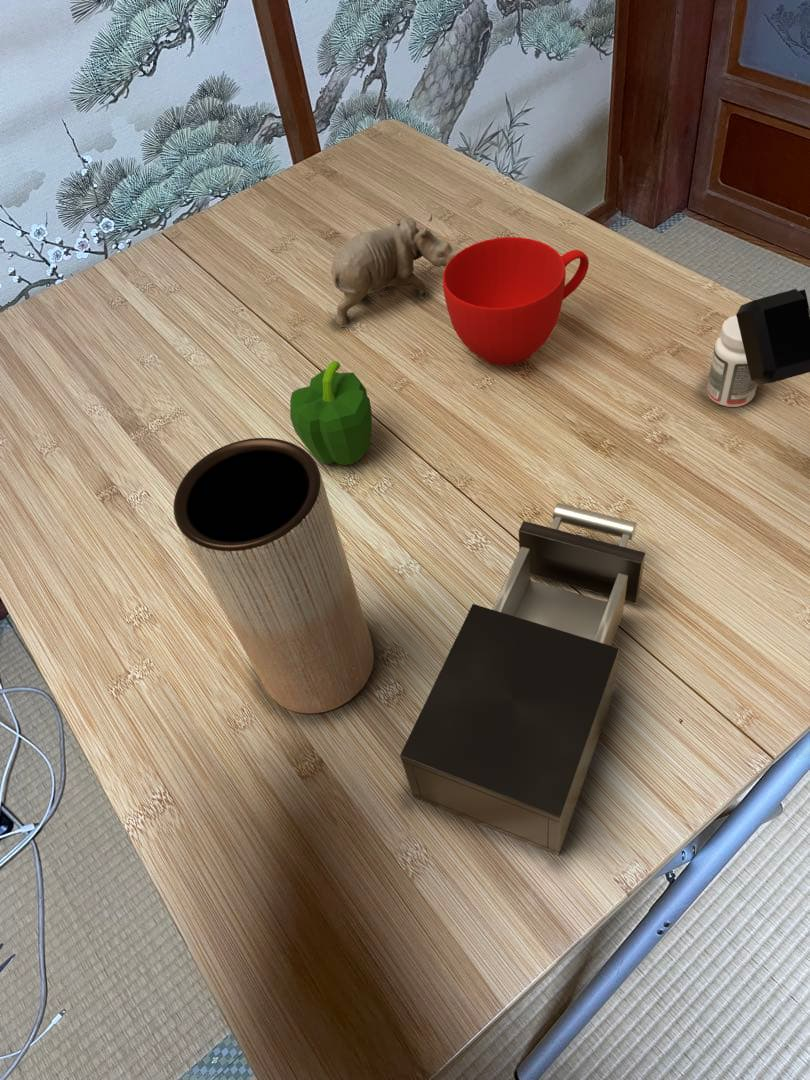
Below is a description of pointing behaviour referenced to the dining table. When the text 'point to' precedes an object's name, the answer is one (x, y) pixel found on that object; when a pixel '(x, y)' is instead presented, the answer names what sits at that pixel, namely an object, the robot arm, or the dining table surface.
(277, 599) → the planter
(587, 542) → the drawer
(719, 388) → the pill bottle
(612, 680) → the drawer cabinet
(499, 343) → the ceramic cup
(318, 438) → the bell pepper
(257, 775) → the dining table surface
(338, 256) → the rhinoceros figurine
